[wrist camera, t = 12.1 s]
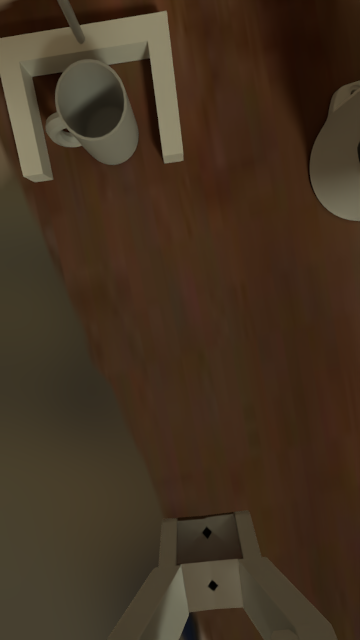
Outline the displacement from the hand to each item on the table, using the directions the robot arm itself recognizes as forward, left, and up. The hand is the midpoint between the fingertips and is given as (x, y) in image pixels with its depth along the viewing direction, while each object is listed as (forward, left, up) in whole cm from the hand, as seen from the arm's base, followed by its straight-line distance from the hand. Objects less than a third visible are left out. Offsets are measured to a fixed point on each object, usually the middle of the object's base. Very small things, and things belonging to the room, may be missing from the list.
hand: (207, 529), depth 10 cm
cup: (-1, -26, -34) cm, 43 cm away
